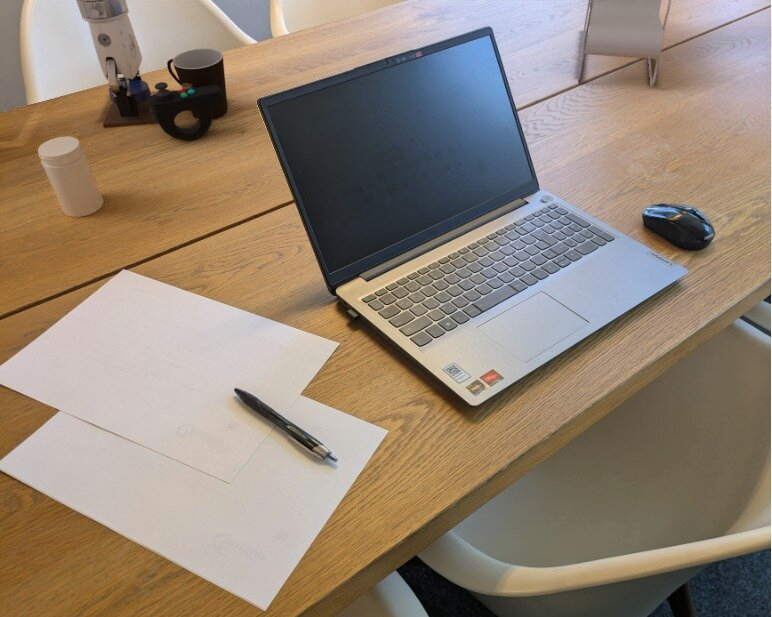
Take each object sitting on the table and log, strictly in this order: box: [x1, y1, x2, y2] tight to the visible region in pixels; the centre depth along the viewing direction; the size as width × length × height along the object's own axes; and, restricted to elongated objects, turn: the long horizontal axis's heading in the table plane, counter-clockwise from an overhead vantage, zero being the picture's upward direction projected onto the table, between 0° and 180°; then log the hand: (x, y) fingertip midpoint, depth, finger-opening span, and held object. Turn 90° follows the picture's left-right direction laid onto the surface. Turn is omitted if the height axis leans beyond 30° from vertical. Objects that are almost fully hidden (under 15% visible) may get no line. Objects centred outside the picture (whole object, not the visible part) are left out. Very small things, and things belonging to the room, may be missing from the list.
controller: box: [148, 81, 225, 141], centre depth 111 cm, size 4×12×10 cm, turn 111°
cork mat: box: [102, 100, 158, 128], centre depth 122 cm, size 10×10×1 cm
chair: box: [577, 0, 672, 88], centre depth 124 cm, size 13×25×20 cm, turn 166°
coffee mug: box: [166, 48, 229, 121], centre depth 118 cm, size 12×9×10 cm
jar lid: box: [108, 80, 152, 105], centre depth 119 cm, size 7×7×2 cm
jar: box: [37, 136, 105, 218], centre depth 97 cm, size 6×6×10 cm
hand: (133, 105), depth 121 cm, fingers closed on jar lid, 6 cm apart
